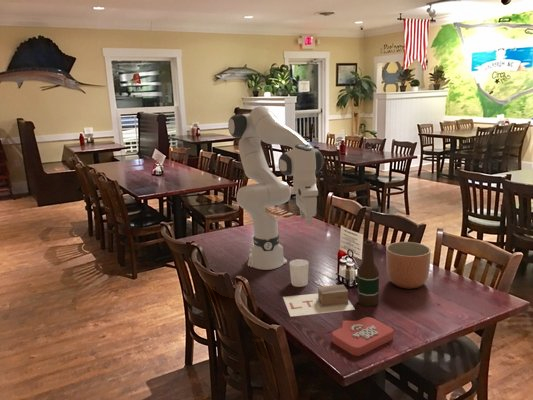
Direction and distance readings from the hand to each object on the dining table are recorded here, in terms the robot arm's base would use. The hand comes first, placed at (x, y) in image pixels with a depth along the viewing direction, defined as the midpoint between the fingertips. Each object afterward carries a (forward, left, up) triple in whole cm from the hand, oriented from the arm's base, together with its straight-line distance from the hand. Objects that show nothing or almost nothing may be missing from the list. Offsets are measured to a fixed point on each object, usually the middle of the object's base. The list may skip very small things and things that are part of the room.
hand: (305, 221), depth 176 cm
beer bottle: (+15, +20, -29) cm, 38 cm away
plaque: (+38, +9, -30) cm, 49 cm away
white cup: (-6, -2, -29) cm, 30 cm away
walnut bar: (+13, +7, -28) cm, 32 cm away
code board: (+13, +1, -29) cm, 32 cm away
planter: (+3, +41, -29) cm, 50 cm away
